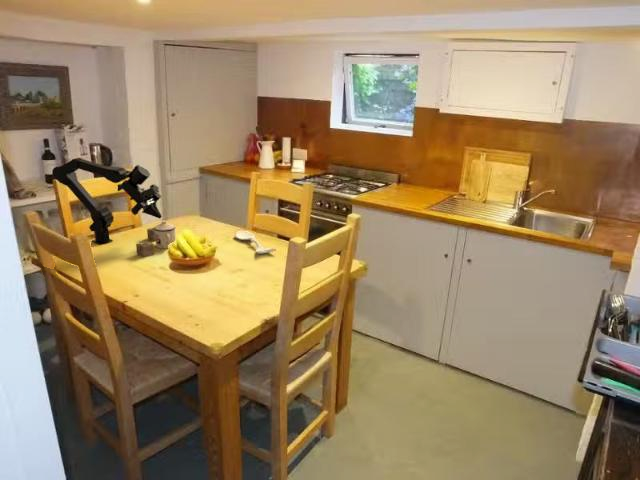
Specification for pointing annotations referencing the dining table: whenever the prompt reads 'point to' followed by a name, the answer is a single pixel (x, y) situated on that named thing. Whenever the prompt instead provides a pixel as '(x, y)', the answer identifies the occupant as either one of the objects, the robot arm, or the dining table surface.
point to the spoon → (249, 236)
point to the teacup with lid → (164, 234)
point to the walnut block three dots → (151, 234)
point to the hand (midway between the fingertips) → (160, 217)
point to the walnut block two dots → (145, 249)
